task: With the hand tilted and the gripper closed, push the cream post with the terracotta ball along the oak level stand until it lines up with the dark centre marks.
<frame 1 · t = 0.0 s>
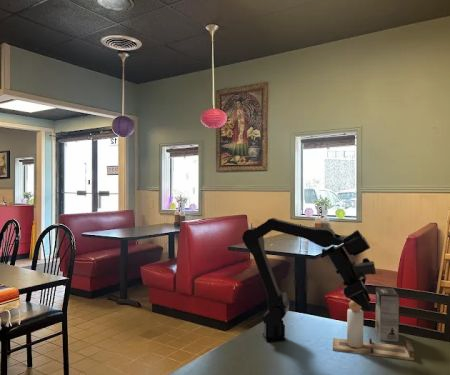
hand: (369, 305, 124), 15 cm above the table, tool tilted 35°, fingers open, 9 cm apart
level stand: (371, 349, 126), on the table
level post: (355, 321, 127), point 9 cm above the table, slide at -5.0 cm
coffee box: (386, 336, 137), on the table
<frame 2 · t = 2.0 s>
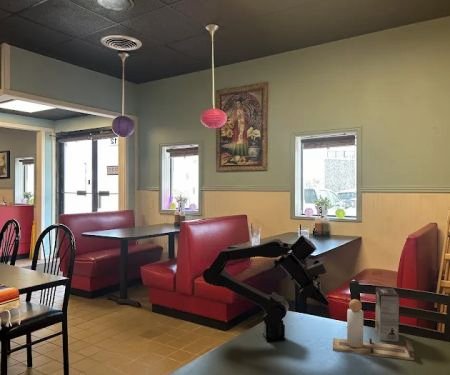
hand: (328, 304, 129), 14 cm above the table, tool tilted 45°, fingers closed
nothing on the table moved.
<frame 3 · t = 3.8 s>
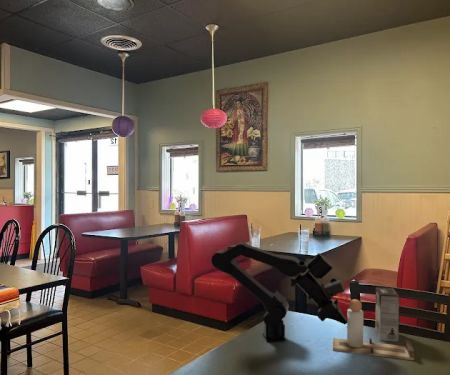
hand: (346, 323, 128), 8 cm above the table, tool tilted 45°, fingers closed, pressing on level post
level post: (355, 321, 127), point 9 cm above the table, slide at -5.0 cm, touching gripper
everything else where it was.
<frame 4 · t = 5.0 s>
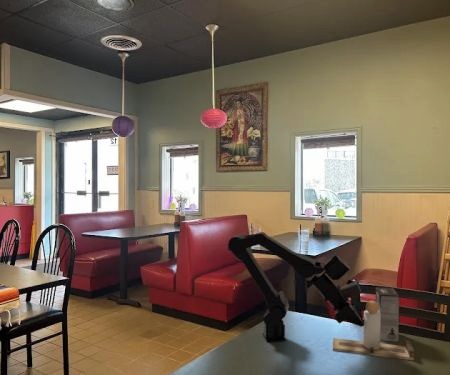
hand: (362, 325, 126), 8 cm above the table, tool tilted 45°, fingers closed, pressing on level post
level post: (372, 323, 125), point 9 cm above the table, slide at 0.2 cm, touching gripper
everything else where it was.
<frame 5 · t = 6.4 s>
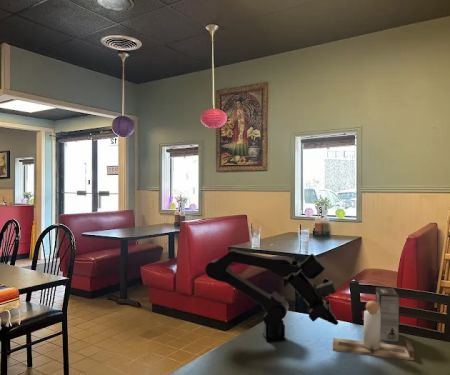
hand: (337, 323, 129), 7 cm above the table, tool tilted 45°, fingers closed
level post: (372, 323, 125), point 9 cm above the table, slide at 0.2 cm
everything else where it was.
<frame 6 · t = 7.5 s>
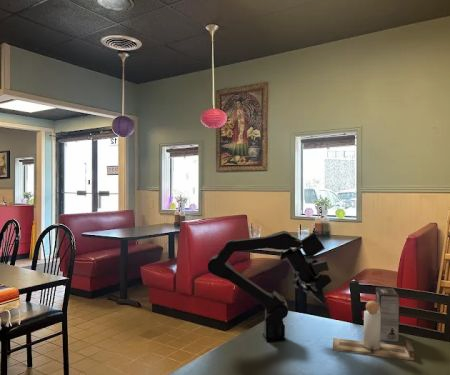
hand: (323, 302, 133), 13 cm above the table, tool tilted 30°, fingers closed
nothing on the table moved.
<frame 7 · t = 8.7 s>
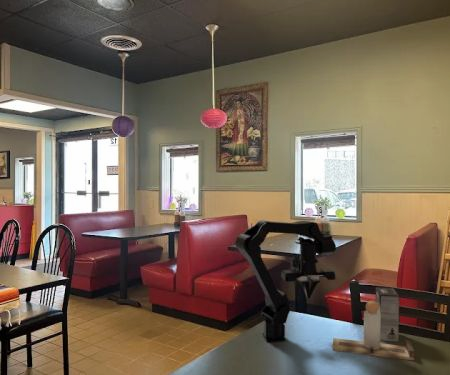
hand: (308, 298, 141), 12 cm above the table, tool pointing down, fingers closed
nothing on the table moved.
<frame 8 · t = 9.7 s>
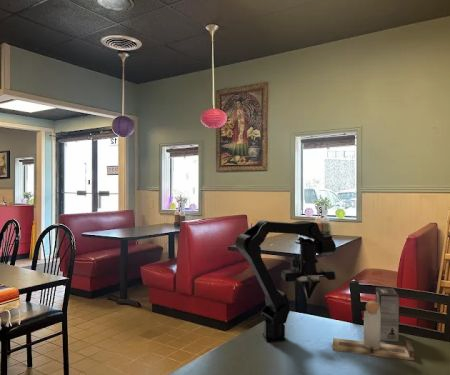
hand: (308, 298, 141), 12 cm above the table, tool pointing down, fingers closed
nothing on the table moved.
at the end: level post slide at 0.2 cm; coffee box moved 0.2 cm from its start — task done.
